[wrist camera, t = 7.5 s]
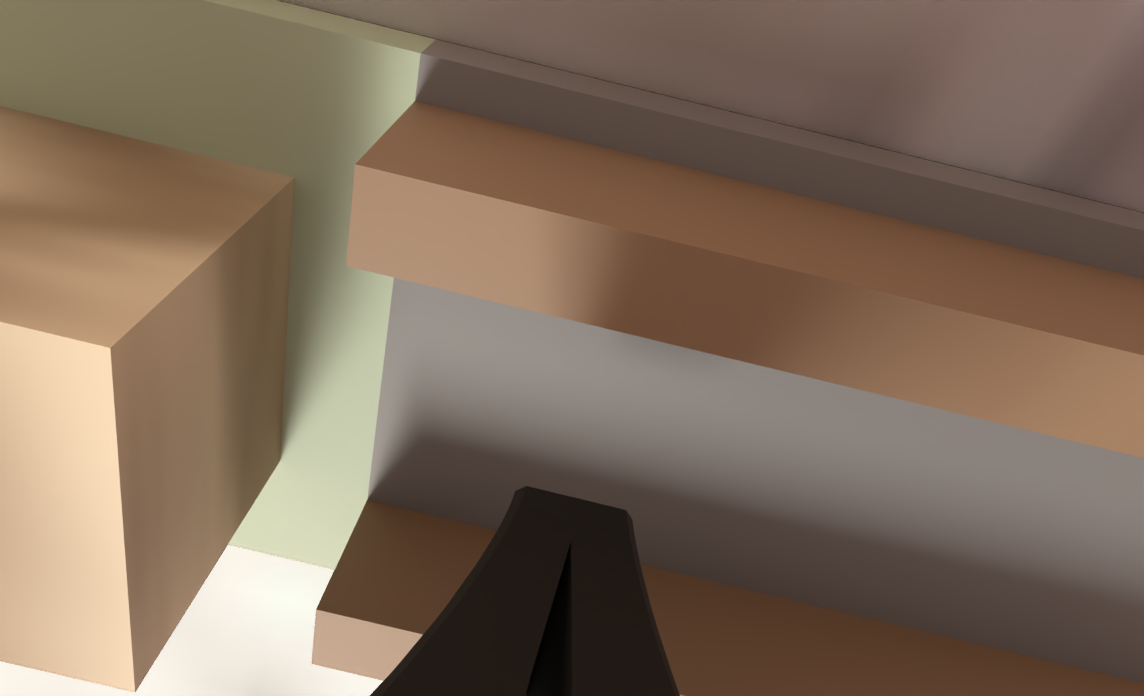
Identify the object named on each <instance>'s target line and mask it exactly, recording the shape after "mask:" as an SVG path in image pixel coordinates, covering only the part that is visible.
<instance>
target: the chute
mask: <svg viewBox="0 0 1144 696" xmlns="http://www.w3.org/2000/svg"><path fill="white" fill-rule="evenodd" d="M0 106H3V107H7V108H11V109H15V110H19V111H23V112H28V113H32V114H36V115H40V116H44V117H48V118H52V119H56V120H60V121H65V122H69V123H73V124H77V125H81V126H85V127H89V128H93V129H97V130H102V131H106V132H110V133H114V134H118V135H122V136H126V137H130V138H134V139H138V140H143V141H147V142H151V143H155V144H159V145H163V146H167V147H171V148H175V149H180V150H184V151H188V152H192V153H196V154H200V155H204V156H208V157H212V158H217V159H221V160H225V161H229V162H233V163H237V164H241V165H245V166H249V167H254V168H258V169H262V170H266V171H270V172H274V173H278V174H282V175H286V176H290V177H294V197H293V216H292V236H291V255H290V275H289V294H288V314H287V333H286V353H285V372H284V392H283V411H282V431H281V450H280V462H279V464H278V465H277V467H276V468H275V470H274V472H273V473H272V475H271V476H270V478H269V480H268V481H267V483H266V484H265V486H264V488H263V489H262V491H261V492H260V494H259V496H258V497H257V499H256V500H255V502H254V504H253V505H252V507H251V508H250V510H249V512H248V513H247V515H246V516H245V518H244V519H243V521H242V523H241V524H240V526H239V527H238V529H237V531H236V532H235V534H234V535H233V537H232V539H231V540H230V542H229V543H228V545H231V546H236V547H240V548H244V549H248V550H253V551H257V552H261V553H266V554H270V555H274V556H278V557H283V558H287V559H291V560H295V561H300V562H304V563H308V564H312V565H317V566H321V567H325V568H329V569H334V572H333V575H332V577H331V579H330V581H329V583H328V585H327V588H326V590H325V592H324V594H323V596H322V598H321V600H320V603H319V605H318V607H317V609H316V618H315V630H314V641H313V653H312V664H315V665H319V666H324V667H328V668H332V669H336V670H341V671H345V672H349V673H354V674H358V675H362V676H366V677H371V678H375V679H379V680H385V679H386V678H387V677H388V675H389V674H390V673H391V672H392V671H393V670H394V669H395V668H396V666H397V665H398V664H399V663H400V662H401V661H402V659H403V658H404V657H405V656H406V655H407V653H408V652H409V651H410V650H411V649H412V647H413V646H414V645H415V644H416V643H417V641H418V640H419V639H420V638H421V637H422V635H423V634H424V633H425V632H426V630H427V629H428V628H429V627H430V626H431V624H432V623H433V622H434V621H435V620H436V618H437V617H438V616H439V615H440V613H441V612H442V611H443V609H444V608H445V607H446V606H447V604H448V603H449V601H450V600H451V599H452V597H453V596H454V594H455V593H456V592H457V590H458V589H459V588H460V586H461V585H462V583H463V582H464V581H465V579H466V578H467V576H468V575H469V574H470V572H471V571H472V569H473V568H474V567H475V565H476V564H477V562H478V561H479V559H480V558H481V556H482V554H483V553H484V551H485V550H486V548H487V546H488V545H489V543H490V542H491V540H492V538H493V537H494V535H495V533H496V532H497V530H498V528H499V526H500V524H501V523H502V521H503V519H504V517H505V515H506V513H507V511H508V509H509V506H510V504H511V501H512V499H513V496H514V493H515V491H516V490H518V489H521V488H523V487H525V486H529V487H533V488H537V489H541V490H546V491H550V492H554V493H558V494H562V495H566V496H570V497H575V498H579V499H583V500H587V501H591V502H595V503H599V504H604V505H608V506H612V507H616V508H620V509H624V510H626V511H627V512H628V514H629V515H630V517H631V518H632V520H633V528H634V534H635V540H636V546H637V551H638V556H639V560H640V565H641V569H642V573H643V578H644V581H645V585H646V589H647V593H648V597H649V601H650V604H651V608H652V611H653V615H654V618H655V622H656V625H657V628H658V631H659V634H660V637H661V641H662V644H663V647H664V650H665V653H666V656H667V659H668V662H669V665H670V668H671V671H672V674H673V677H674V680H675V683H676V686H677V688H678V691H679V694H680V696H1144V213H1142V212H1137V211H1133V210H1129V209H1125V208H1121V207H1117V206H1113V205H1109V204H1105V203H1101V202H1097V201H1093V200H1089V199H1084V198H1080V197H1076V196H1072V195H1068V194H1064V193H1060V192H1056V191H1052V190H1048V189H1044V188H1040V187H1036V186H1031V185H1027V184H1023V183H1019V182H1015V181H1011V180H1007V179H1003V178H999V177H995V176H991V175H987V174H983V173H978V172H974V171H970V170H966V169H962V168H958V167H954V166H950V165H946V164H942V163H938V162H934V161H930V160H925V159H921V158H917V157H913V156H909V155H905V154H901V153H897V152H893V151H889V150H885V149H881V148H877V147H873V146H868V145H864V144H860V143H856V142H852V141H848V140H844V139H840V138H836V137H832V136H828V135H824V134H820V133H815V132H811V131H807V130H803V129H799V128H795V127H791V126H787V125H783V124H779V123H775V122H771V121H767V120H762V119H758V118H754V117H750V116H746V115H742V114H738V113H734V112H730V111H726V110H722V109H718V108H714V107H709V106H705V105H701V104H697V103H693V102H689V101H685V100H681V99H677V98H673V97H669V96H665V95H661V94H656V93H652V92H648V91H644V90H640V89H636V88H632V87H628V86H624V85H620V84H616V83H612V82H608V81H603V80H599V79H595V78H591V77H587V76H583V75H579V74H575V73H571V72H567V71H563V70H559V69H555V68H550V67H546V66H542V65H538V64H534V63H530V62H526V61H522V60H518V59H514V58H510V57H506V56H502V55H498V54H493V53H489V52H485V51H481V50H477V49H473V48H469V47H465V46H461V45H457V44H453V43H449V42H445V41H440V40H436V39H432V38H428V37H424V36H420V35H416V34H412V33H408V32H404V31H400V30H396V29H392V28H387V27H383V26H379V25H375V24H371V23H367V22H363V21H359V20H355V19H351V18H347V17H343V16H339V15H334V14H330V13H326V12H322V11H318V10H314V9H310V8H306V7H302V6H298V5H294V4H290V3H286V2H281V1H277V0H0Z"/></svg>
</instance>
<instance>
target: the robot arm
mask: <svg viewBox="0 0 1144 696" xmlns="http://www.w3.org/2000/svg"><path fill="white" fill-rule="evenodd" d="M370 696H680V694H679V691H678V688H677V686H676V683H675V680H674V677H673V674H672V671H671V668H670V665H669V662H668V659H667V656H666V653H665V650H664V647H663V644H662V641H661V637H660V634H659V631H658V628H657V625H656V622H655V618H654V615H653V611H652V608H651V604H650V601H649V597H648V593H647V589H646V585H645V581H644V578H643V573H642V569H641V565H640V560H639V556H638V551H637V546H636V540H635V534H634V528H633V520H632V518H631V517H630V515H629V514H628V512H627V511H626V510H624V509H620V508H616V507H612V506H608V505H604V504H599V503H595V502H591V501H587V500H583V499H579V498H575V497H570V496H566V495H562V494H558V493H554V492H550V491H546V490H541V489H537V488H533V487H529V486H525V487H523V488H521V489H518V490H516V491H515V493H514V496H513V499H512V501H511V504H510V506H509V509H508V511H507V513H506V515H505V517H504V519H503V521H502V523H501V524H500V526H499V528H498V530H497V532H496V533H495V535H494V537H493V538H492V540H491V542H490V543H489V545H488V546H487V548H486V550H485V551H484V553H483V554H482V556H481V558H480V559H479V561H478V562H477V564H476V565H475V567H474V568H473V569H472V571H471V572H470V574H469V575H468V576H467V578H466V579H465V581H464V582H463V583H462V585H461V586H460V588H459V589H458V590H457V592H456V593H455V594H454V596H453V597H452V599H451V600H450V601H449V603H448V604H447V606H446V607H445V608H444V609H443V611H442V612H441V613H440V615H439V616H438V617H437V618H436V620H435V621H434V622H433V623H432V624H431V626H430V627H429V628H428V629H427V630H426V632H425V633H424V634H423V635H422V637H421V638H420V639H419V640H418V641H417V643H416V644H415V645H414V646H413V647H412V649H411V650H410V651H409V652H408V653H407V655H406V656H405V657H404V658H403V659H402V661H401V662H400V663H399V664H398V665H397V666H396V668H395V669H394V670H393V671H392V672H391V673H390V674H389V675H388V677H387V678H386V679H385V680H384V681H383V682H382V683H381V684H380V685H379V687H378V688H377V689H376V690H375V691H374V692H373V693H372V694H371V695H370Z"/></svg>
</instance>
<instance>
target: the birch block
mask: <svg viewBox="0 0 1144 696" xmlns="http://www.w3.org/2000/svg"><path fill="white" fill-rule="evenodd" d="M293 197H294V177H290V176H286V175H282V174H278V173H274V172H270V171H266V170H262V169H258V168H254V167H249V166H245V165H241V164H237V163H233V162H229V161H225V160H221V159H217V158H212V157H208V156H204V155H200V154H196V153H192V152H188V151H184V150H180V149H175V148H171V147H167V146H163V145H159V144H155V143H151V142H147V141H143V140H138V139H134V138H130V137H126V136H122V135H118V134H114V133H110V132H106V131H102V130H97V129H93V128H89V127H85V126H81V125H77V124H73V123H69V122H65V121H60V120H56V119H52V118H48V117H44V116H40V115H36V114H32V113H28V112H23V111H19V110H15V109H11V108H7V107H3V106H0V661H2V662H7V663H11V664H15V665H20V666H24V667H28V668H33V669H37V670H41V671H45V672H50V673H54V674H58V675H63V676H67V677H71V678H76V679H80V680H84V681H89V682H93V683H97V684H101V685H106V686H110V687H114V688H119V689H123V690H127V691H132V692H136V690H137V689H138V687H139V685H140V684H141V682H142V681H143V679H144V677H145V676H146V674H147V673H148V671H149V669H150V668H151V666H152V665H153V663H154V661H155V660H156V658H157V657H158V655H159V653H160V652H161V650H162V649H163V647H164V645H165V644H166V642H167V641H168V639H169V637H170V636H171V634H172V633H173V631H174V630H175V628H176V626H177V625H178V623H179V622H180V620H181V618H182V617H183V615H184V614H185V612H186V610H187V609H188V607H189V606H190V604H191V602H192V601H193V599H194V598H195V596H196V594H197V593H198V591H199V590H200V588H201V586H202V585H203V583H204V582H205V580H206V578H207V577H208V575H209V574H210V572H211V571H212V569H213V567H214V566H215V564H216V563H217V561H218V559H219V558H220V556H221V555H222V553H223V551H224V550H225V548H226V547H227V545H228V543H229V542H230V540H231V539H232V537H233V535H234V534H235V532H236V531H237V529H238V527H239V526H240V524H241V523H242V521H243V519H244V518H245V516H246V515H247V513H248V512H249V510H250V508H251V507H252V505H253V504H254V502H255V500H256V499H257V497H258V496H259V494H260V492H261V491H262V489H263V488H264V486H265V484H266V483H267V481H268V480H269V478H270V476H271V475H272V473H273V472H274V470H275V468H276V467H277V465H278V464H279V462H280V450H281V431H282V411H283V392H284V372H285V353H286V333H287V314H288V294H289V275H290V255H291V236H292V216H293Z"/></svg>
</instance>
